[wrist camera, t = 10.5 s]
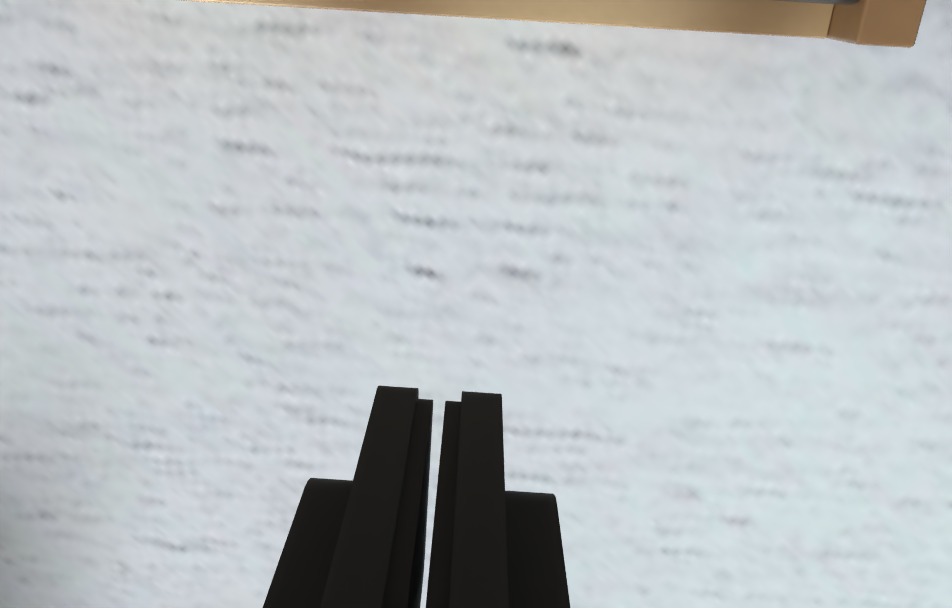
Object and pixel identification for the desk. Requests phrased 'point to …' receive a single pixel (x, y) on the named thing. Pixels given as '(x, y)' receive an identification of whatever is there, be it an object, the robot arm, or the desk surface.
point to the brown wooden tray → (675, 15)
